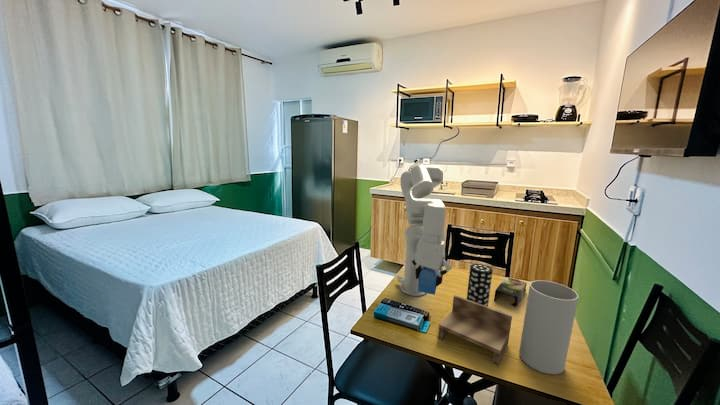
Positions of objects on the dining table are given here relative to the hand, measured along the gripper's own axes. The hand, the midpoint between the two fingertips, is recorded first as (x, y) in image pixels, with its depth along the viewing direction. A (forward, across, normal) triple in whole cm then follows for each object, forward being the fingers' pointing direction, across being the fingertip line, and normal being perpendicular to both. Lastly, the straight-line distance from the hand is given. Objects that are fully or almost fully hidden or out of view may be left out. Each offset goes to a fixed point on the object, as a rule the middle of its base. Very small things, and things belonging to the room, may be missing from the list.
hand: (428, 280), depth 110 cm
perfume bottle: (+4, 0, 0) cm, 4 cm away
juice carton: (+18, +21, +45) cm, 53 cm away
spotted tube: (+17, +14, +19) cm, 29 cm away
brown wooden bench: (+17, +19, 0) cm, 25 cm away
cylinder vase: (+17, +39, +5) cm, 42 cm away
